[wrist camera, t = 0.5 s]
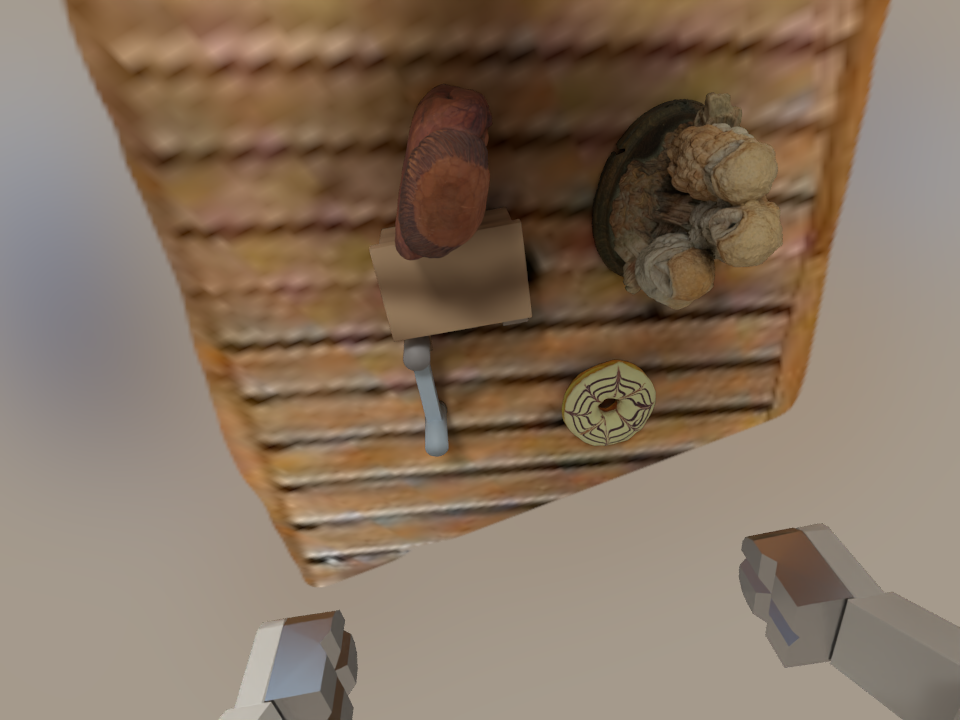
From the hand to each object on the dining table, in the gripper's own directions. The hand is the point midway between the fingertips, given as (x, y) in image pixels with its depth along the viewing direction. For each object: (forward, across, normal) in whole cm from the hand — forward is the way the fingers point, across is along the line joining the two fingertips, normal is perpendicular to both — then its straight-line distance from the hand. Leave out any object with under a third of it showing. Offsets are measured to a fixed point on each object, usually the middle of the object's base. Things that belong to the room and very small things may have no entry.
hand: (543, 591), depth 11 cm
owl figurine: (+46, -19, +5) cm, 50 cm away
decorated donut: (+46, -13, +28) cm, 56 cm away
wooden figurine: (+46, +1, -2) cm, 46 cm away
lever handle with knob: (+45, +7, +21) cm, 50 cm away
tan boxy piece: (+46, +2, +11) cm, 47 cm away
